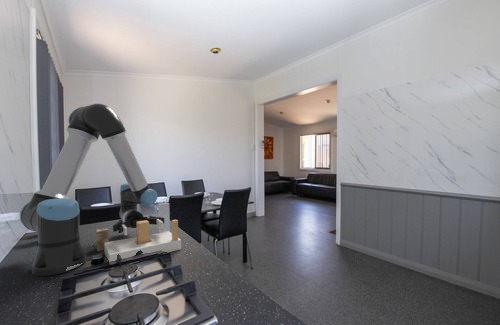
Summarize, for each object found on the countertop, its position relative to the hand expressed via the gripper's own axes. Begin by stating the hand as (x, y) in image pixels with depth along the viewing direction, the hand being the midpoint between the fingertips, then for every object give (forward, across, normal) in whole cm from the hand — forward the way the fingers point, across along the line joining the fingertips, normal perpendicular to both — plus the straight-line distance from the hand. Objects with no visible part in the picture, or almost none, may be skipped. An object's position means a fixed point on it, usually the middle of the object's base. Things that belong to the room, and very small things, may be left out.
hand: (144, 228), depth 98 cm
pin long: (-17, -13, -10) cm, 24 cm away
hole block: (-3, 0, -10) cm, 11 cm away
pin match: (-3, 0, -10) cm, 11 cm away
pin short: (-17, +13, -10) cm, 24 cm away
